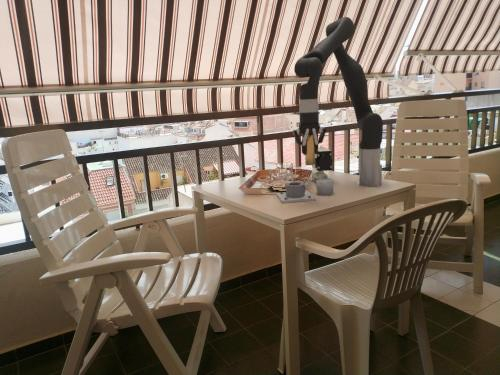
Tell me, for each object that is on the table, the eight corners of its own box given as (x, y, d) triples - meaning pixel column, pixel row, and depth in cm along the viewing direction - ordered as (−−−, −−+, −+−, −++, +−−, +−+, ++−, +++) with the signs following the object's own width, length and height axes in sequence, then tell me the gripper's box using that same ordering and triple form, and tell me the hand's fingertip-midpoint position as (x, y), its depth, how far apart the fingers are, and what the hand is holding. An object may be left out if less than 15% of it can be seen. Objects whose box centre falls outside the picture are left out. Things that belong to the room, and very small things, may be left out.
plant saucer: (285, 195, 170) (284, 188, 169) (261, 189, 184) (260, 183, 183) (313, 187, 179) (313, 181, 179) (288, 182, 194) (288, 176, 193)
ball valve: (308, 178, 200) (307, 144, 196) (324, 176, 201) (324, 143, 197) (315, 185, 183) (315, 148, 179) (333, 184, 183) (332, 147, 179)
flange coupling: (307, 192, 170) (306, 179, 169) (315, 200, 157) (315, 186, 155) (276, 195, 169) (275, 182, 168) (282, 203, 156) (281, 189, 154)
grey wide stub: (330, 191, 171) (330, 178, 169) (335, 194, 164) (335, 181, 162) (314, 192, 170) (314, 179, 169) (319, 196, 163) (318, 182, 162)
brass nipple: (313, 163, 156) (312, 134, 154) (316, 164, 153) (315, 134, 150) (304, 163, 156) (303, 134, 153) (306, 165, 152) (306, 135, 150)
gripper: (323, 109, 154) (323, 151, 158) (289, 111, 152) (290, 154, 156) (329, 110, 147) (329, 154, 150) (293, 112, 145) (294, 156, 149)
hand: (309, 154), depth 153 cm, fingers closed on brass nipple, 3 cm apart
